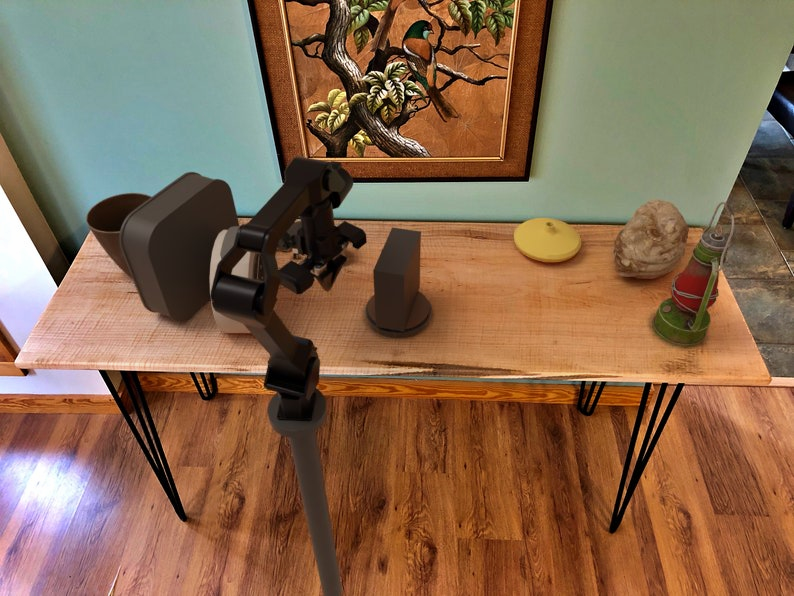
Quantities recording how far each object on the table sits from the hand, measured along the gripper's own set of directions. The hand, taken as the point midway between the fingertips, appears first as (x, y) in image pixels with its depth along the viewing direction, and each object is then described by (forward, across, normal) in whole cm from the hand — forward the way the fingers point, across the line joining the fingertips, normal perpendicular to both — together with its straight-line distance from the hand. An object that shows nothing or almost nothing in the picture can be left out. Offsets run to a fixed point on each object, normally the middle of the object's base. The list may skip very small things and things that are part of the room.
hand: (327, 290), depth 119 cm
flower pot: (+13, +10, -50) cm, 53 cm away
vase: (+15, -52, +21) cm, 58 cm away
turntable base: (+14, -13, +7) cm, 20 cm away
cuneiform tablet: (+14, -13, -30) cm, 36 cm away
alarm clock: (+13, +5, -20) cm, 24 cm away
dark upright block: (+12, -13, +7) cm, 19 cm away
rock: (+15, -60, +41) cm, 74 cm away
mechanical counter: (+14, -21, -19) cm, 32 cm away
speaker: (+13, +8, -34) cm, 37 cm away
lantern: (+14, -45, +55) cm, 73 cm away
